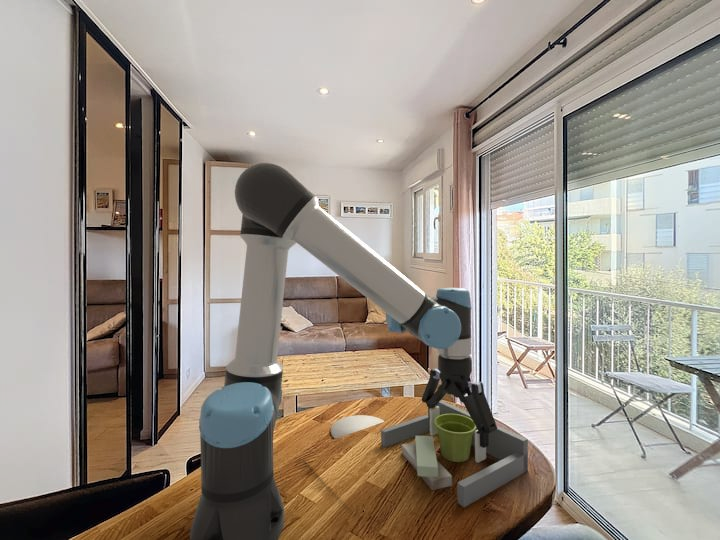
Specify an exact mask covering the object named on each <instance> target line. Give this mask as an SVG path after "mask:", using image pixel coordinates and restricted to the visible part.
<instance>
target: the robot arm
mask: <svg viewBox="0 0 720 540" xmlns="http://www.w3.org/2000/svg"><path fill="white" fill-rule="evenodd" d="M236 180H237V181H236V183H235V185H234V186H235V188H234V198H235V202H236V206H237V208H238V210H239V211H240V213H241V217H242V218H241V227H240V235H239V236H240V238H241V239H242V240H243V242H244V243H245V244H246V251H245V262H244V270H243V279H242V289H241V290H242V291H241V298H240V308H239V317H238V318H239V319H238V326H237V328H238V329H237V336H236V343H235V344H236V345H235V346H236V347H235V355H234V358H233V359H232V360H231V361H230V362H229V363H228V364H227V365H226V368H225V375H224V385H223V386H222V387H221V389H216V390H214V391H213V392H211V393H210V394H209V395H208V396H206V398H205V400H204V401H203V403H202V405H201V409H200V416H199V421H198V422H199V423H198V424H199V425H198V428H199V433H200V435H199V436H200V438H199V440H200V479H201V480H200V481H201V483H200V484H201V485H200V486H201V487H200V488H201V494H200V497H199V500H198V503H197V506H196V509H195V513H194V516H193V519H192V523H191V526H190V533H189V540H278V539H279V537H280V536H281V535H282V532H283V530H284V527H285V526H284V525H285V506H284V502H283V498H282V495H281V494H280V490H279V488H278V486H277V482H276V480H275V476H274V432H275V427H276V423H277V417H278V412H279V409H280V405H281V402H282V398H283V389H282V383H283V382H282V381H283V374H284V373H283V372H284V366H283V365H282V364H281V362H280V361H279V360H278V351H279V341H280V333H281V332H280V331H281V323H282V322H281V321H282V314H283V305H284V304H283V303H284V297H285V295H284V294H285V284H286V277H287V265H288V259H289V258H288V257H289V250H291V248H292V247H293V246H294V245H296V244H298V245H299V246H300V247H301V248H303V249H304V250H306V252H308V253H309V254H310V255H312V256H313V257H314V258H316V260H318V261H320V262H321V263H322V264H323V265H325V266H326V268H328V269H329V270H331V271H332V272H334V273H335V274H336V275H337V276H339V277H340V278H341V279H342V280H343V281H345V282H346V283H348V285H350V286H351V287H353V289H355V290H356V291H358V292H359V293H361V294H362V295H363V296H364V297H366V298H367V300H369V301H370V302H372V303H374V305H376V306H377V307H378V308H379V309H381V310H382V311H383V312H384V313H385V323H386V326H387V329H388V331H389V332H391V333H400V334H404V333H409V334H410V335H412V336H414V337H416V338H417V339H418V340H420V341H421V342H422V343H424V345H426V346H428V347H430V348H434V349H437V353H438V356H437V368H432V369H430V371H429V379H428V382H427V383H426V387H425V389H424V392H423V393H422V397H421V402H422V403H424V404H426V407H427V414H428V418H429V419H430V431H429V436H435V435H439V434H438V431H437V426H436V425H435V422H434V420H435V418H436V417H438V416H439V415H440V407H438V406H436V405H438V403H439V401H440V400H443V398H444V397H445V396H446V394H447V395H450V396H451V395H452V396H454V398H458V399H459V401H460V402H461V403H463V405H464V407H465V409H466V412H468V413H469V414H470V416H471V418H472V420H473V422H474V424H475V426H476V427H477V429H478V430H476V431H475V446H474V453H475V454H474V462H476V463H481V462H482V461H484V460H487V453H486V447H487V446H488V445H489V433H491V432H493V431H495V430H497V425H498V424H497V423H496V420H495V418H494V415H493V413H492V409H491V408H490V405H489V403H488V399H487V397H486V394H485V391H484V390H485V388H484V383H483V382H482V381H478V382H474V381H472V380H471V373H472V372H473V371H472V370H473V369H472V368H473V365H472V363H473V362H472V356H471V355H472V303H471V301H472V300H471V294H470V291H469V290H468V289H467V288H463V287H440V288H438V289H437V290H436V295H435V296H434V297H431V296H430V295H429V294H427V293H426V292H425V291H424V290H422V289H421V288H420V287H419V286H418V285H416V283H414V282H413V281H412V280H411V279H409V278H408V277H406V276H405V275H404V274H403V273H401V271H399V270H398V269H397V268H396V267H395V266H393V265H392V264H391V263H390V262H388V261H387V260H385V258H383V257H382V255H381V256H380V255H379V253H377V252H376V251H375V250H373V249H372V248H371V247H370V246H369V245H367V244H366V243H365V242H364V241H362V240H361V239H360V238H359V237H358V236H356V234H354V233H353V232H351V231H350V230H349V229H348V228H347V227H345V226H344V225H343V224H341V222H339V221H338V220H337V219H335V218H334V217H333V216H331V214H329V213H328V212H327V211H325V210H324V209H323V208H322V207H321V206H320V205H319V199H318V197H317V196H316V195H315V194H314V193H312V192H311V191H310V190H309V189H308V188H307V187H305V185H303V184H302V183H301V182H300V181H299V180H298V179H297V178H295V177H294V176H293V174H291V173H290V172H289V171H288V170H286V169H285V168H284V167H282V166H280V165H277V164H275V163H269V162H261V163H257V164H253V165H251V166H250V165H249V167H248V168H246V169H244V171H242V173H240V175H239V176H238V179H236ZM440 381H441V384H439V383H440ZM438 385H439V386H438ZM481 424H482V425H481Z"/></svg>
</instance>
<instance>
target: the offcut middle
mask: <svg viewBox="0 0 720 540" xmlns="http://www.w3.org/2000/svg"><path fill="white" fill-rule="evenodd" d="M401 453H402V455H403V456H404V458H406V460H407V461H408V463H410V465H411V466H412V467H413V469H414V470H415V471H416V472H417V460H416V445H415V441H414V442H408V443H403V444H401ZM437 465H438V477H426V476H420V477H421V479H422V480H423V481H424V482H425V484H426V485H427V486H428V488H430V490H431V491H436V490H440V489H445V488H448V487H452V486H453V475H451V473H450V472H449V471H448V470H447V469H446V468H445V467H444V466H443V465H442V464H441V463H440V462H439V461H438V460H437Z"/></svg>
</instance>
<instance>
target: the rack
mask: <svg viewBox="0 0 720 540" xmlns="http://www.w3.org/2000/svg"><path fill="white" fill-rule="evenodd" d="M436 406H438V407H440V415H443V414H459V415H463V416H466V417H468V418H470V419H472V418H471V416H470V414H469V413H468V411H467V410H464V409H463V408H460V407H457V406H454V405H453V404H451V403H448V402H446V401H444V400H443V399H441V400H440V401H439V403H438V405H436ZM481 425H482V424H481ZM496 425H497V430H495V431H493V432H491V433H489V445H488V446H487V447H486V454H488V455H490V456H492V457H494V458H496V459H497V460H498V461H497V462H495V463H493V464H491V465H489V466H486V467H484V468H483V469H481V470H480V471H478V472H475V473H473V474H471V475H469V476H466V478H464V479H461V480H460V481H457V483H456V484H457V488H456V489H457V491H456V492H457V493H456V494H457V497H456V498H457V504H458V505H460V506H461V507H463V508H466V507H468V506H469V505H471V504H473V503H475V502H477V501H479V500H480V499H482V498H483V497H486V495H488V494H491V492H493V491H496V490H497V489H499V488H500V487H502V486H504V485H506V484H507V483H509V482H510V481H512V480H515V479H517V478H518V477H519V476H521V475H523V474H525V473H526V472H528V471H529V457H528V455H529V448H528V447H529V446H528V445H529V441H528V440H529V439H528V438H527V437H524V436H523V435H520V434H517V433H515V432H513V431H510V430H508V429H507V428H504V427H502V426H499V425H498V424H496ZM476 430H478V429H477V427H476ZM476 430H475V431H476ZM475 431H474V434H473V436H472V443H471V446H474V447H475ZM428 432H429V433H430V419H429V418H428V413H427V414H425V415H421V416H418V417H416V418H412V419H409V420H406V421H403V422H400V423H397V424H395V425H391V426H388V427H385V428H382V429H381V430H380V445H381V446H382V447H383V448H388V447H390V446H394V445H396V444H398V443H401V442H403V441H407V440H409V439H412V438H415V436H422V435H423V434H425V433H428Z"/></svg>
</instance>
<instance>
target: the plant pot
mask: <svg viewBox="0 0 720 540" xmlns="http://www.w3.org/2000/svg"><path fill="white" fill-rule="evenodd" d="M434 422H435V425H436V426H437V431H438V434H437V435H438V440H439V446H440V447H439V448H440V454H441V456H442V457H443V458H444V459H446V460H448V461H450V462H454V463H455V462H456V463H463V462H466V461H469V459H470V455H471V449H472V445H471V443H472V436H473V434H474V431H475V430H476V426H475V424H474V422H473V420H472V419H470V418H468V417H466V416H463V415H459V414H443V415H439V416H438V417H436V418H435V420H434Z"/></svg>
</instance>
